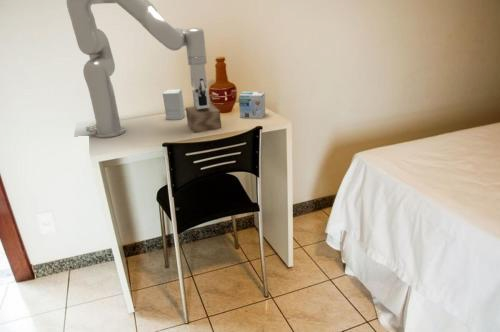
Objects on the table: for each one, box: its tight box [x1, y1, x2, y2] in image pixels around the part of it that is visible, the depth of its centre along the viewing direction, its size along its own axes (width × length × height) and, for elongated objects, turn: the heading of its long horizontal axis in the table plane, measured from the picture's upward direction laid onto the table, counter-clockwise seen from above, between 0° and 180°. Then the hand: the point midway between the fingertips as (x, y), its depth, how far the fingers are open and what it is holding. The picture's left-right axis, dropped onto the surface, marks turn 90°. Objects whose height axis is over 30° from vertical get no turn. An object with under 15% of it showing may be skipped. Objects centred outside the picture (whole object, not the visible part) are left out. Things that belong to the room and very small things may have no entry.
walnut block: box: [185, 103, 222, 134], centre depth 172 cm, size 12×12×8 cm
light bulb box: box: [238, 91, 266, 120], centre depth 181 cm, size 11×7×11 cm, turn 73°
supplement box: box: [162, 88, 186, 121], centre depth 185 cm, size 7×7×13 cm
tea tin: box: [192, 88, 211, 109], centre depth 168 cm, size 6×6×7 cm
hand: (201, 103), depth 169 cm, fingers open, 5 cm apart
